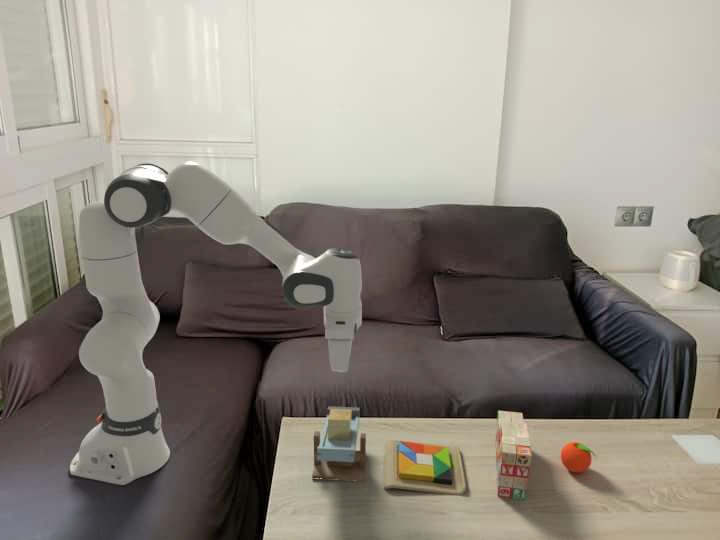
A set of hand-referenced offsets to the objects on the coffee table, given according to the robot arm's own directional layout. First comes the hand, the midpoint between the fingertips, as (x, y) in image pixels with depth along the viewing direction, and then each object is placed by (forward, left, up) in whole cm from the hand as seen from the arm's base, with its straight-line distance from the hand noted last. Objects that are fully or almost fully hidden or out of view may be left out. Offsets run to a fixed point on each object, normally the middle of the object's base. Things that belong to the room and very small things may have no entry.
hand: (343, 369), depth 136 cm
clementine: (+57, -4, -23) cm, 61 cm away
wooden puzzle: (+20, -6, -23) cm, 31 cm away
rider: (0, -7, -13) cm, 15 cm away
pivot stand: (0, -7, -22) cm, 23 cm away
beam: (0, -7, -14) cm, 16 cm away
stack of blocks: (+41, -5, -23) cm, 47 cm away
